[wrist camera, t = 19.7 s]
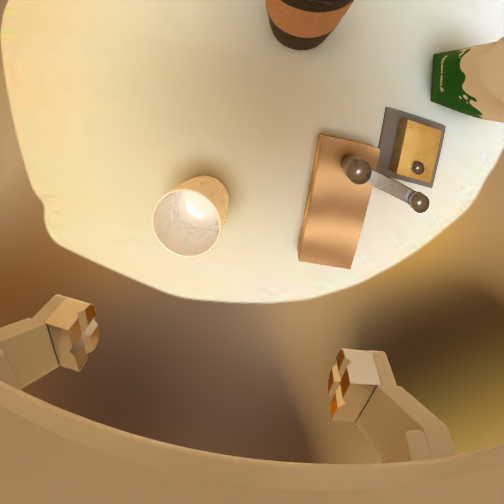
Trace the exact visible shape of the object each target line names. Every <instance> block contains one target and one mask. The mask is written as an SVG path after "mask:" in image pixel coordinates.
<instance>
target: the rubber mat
mask: <svg viewBox="0 0 504 504" xmlns="http://www.w3.org/2000/svg"><path fill="white" fill-rule="evenodd" d="M399 119H407V120H411V121H414V122H417V123H420V124H423V125H426V126H429V127H432V128H435V129H437V130H440V131H442V133H441V138H440V143H439V147H438V152H437V157H436V161H435V165H434V169H433V173H432V177H431V181H430V183H428V182H424V181H421V180H417V179H414V178H410V177H406V176H403V175H399V174H396V173H394V172H393V171H391V170H389V167H390V163H391V158H392V154H393V149H394V144H395V139H396V134H397V129H398V124H399ZM445 127H446V126H443V125H441V124H438V123H435V122H432V121H429V120H426V119H423V118H420V117H417V116H414V115H411V114H408V113H405V112H402V111H398V110H395V109H391V108H388V107H386V109H385V115H384V121H383V126H382V132H381V137H380V142H379V147H378V148H379V149H380V153H379V158H378V163H377V167H376V171H378V172H380V173H382V174H384V175H386V176H388V177H392V178H396V179H400V180H404V181H407V182H411V183H415V184H419V185H423V186H426V187H430V188H432V186H433V182H434V178H435V174H436V170H437V165H438V161H439V157H440V152H441V147H442V143H443V138H444V133H445Z"/></svg>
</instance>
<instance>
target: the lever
mask: <svg viewBox="0 0 504 504" xmlns="http://www.w3.org/2000/svg"><path fill="white" fill-rule="evenodd" d="M343 172H344V174H345V175H346V176H347V177H348V178H349V179H350V180H351V181H352V182H353V183H355V184H359V185H360V184H364V183H368V184H370V185H372V186H374V187H376V188H378V189H380V190H382V191H384V192H386V193H388V194H390V195H392V196H394V197H396V198H398V199H400V200H402V201H404V202H406V203H408V204H410V206H411V207H412V208H413V209H414V210H415V211H416V212H418V213H422V212H425V211H426V210H427V209H428V207H429V199H428V198H427V196H425V195H424V194H422V193H421V192H416V191H414V190H412V189H411V188H409V187H407V186H405V185H403V184H401V183H399V182H397V181H395V180H393V179H392V178H390V177H388V176H386V175H384V174H382V173H380V172H378V171H376V170H374V169H371V166H370V165H369V163H368V162H366V161H365V160H363V159H362V158H360V157H358V156H350V157H348V158H347V159H346V160H345V161H344V163H343Z"/></svg>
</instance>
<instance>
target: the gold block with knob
mask: <svg viewBox="0 0 504 504" xmlns="http://www.w3.org/2000/svg"><path fill="white" fill-rule="evenodd" d="M441 133H442V131H440V130H437V129H435V128H432V127H429V126H426V125H423V124H420V123H417V122H414V121H411V120H407V119H399V124H398V129H397V134H396V139H395V144H394V149H393V154H392V158H391V163H390V167H389V170H391V171H393V172H394V173H396V174H399V175H403V176H406V177H410V178H414V179H417V180H421V181H424V182H428V183H430V181H431V177H432V173H433V169H434V165H435V161H436V157H437V152H438V147H439V143H440V138H441Z"/></svg>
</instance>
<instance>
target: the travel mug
mask: <svg viewBox="0 0 504 504" xmlns="http://www.w3.org/2000/svg"><path fill="white" fill-rule="evenodd" d="M353 1H354V0H266V8H267V12H268V16H269V20H270V24H271V28H272V31H273V34H274V35H275V37H276V38H277V40H278V41H279V42H281V43H282V44H283V45H285V46H287V47H289V48H292V49H296V50H308V49H312V48H314V47H316V46H318V45H319V44H321V43H322V42H323V41H324V40H325V39H326V37H327V36H328V35H329V34H330V33H331V32H332V31H333V29H334V28H335V27H336V26H337V25H338V23H339V22H340V20H341V19H342V17H343V16H344V14H345V13H346V11H347V10H348V8H349V7H350V5H351V4H352V2H353Z"/></svg>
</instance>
